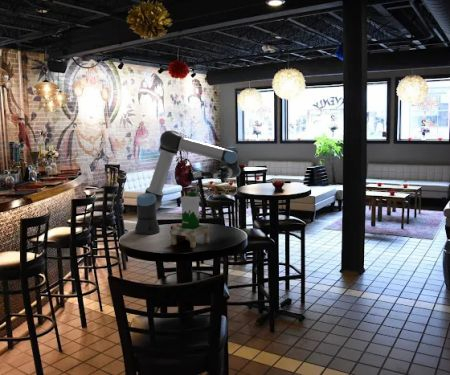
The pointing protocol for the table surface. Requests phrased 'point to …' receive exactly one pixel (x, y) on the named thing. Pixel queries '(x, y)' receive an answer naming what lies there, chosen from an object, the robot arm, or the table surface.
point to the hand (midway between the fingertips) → (203, 175)
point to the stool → (190, 234)
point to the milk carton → (190, 211)
